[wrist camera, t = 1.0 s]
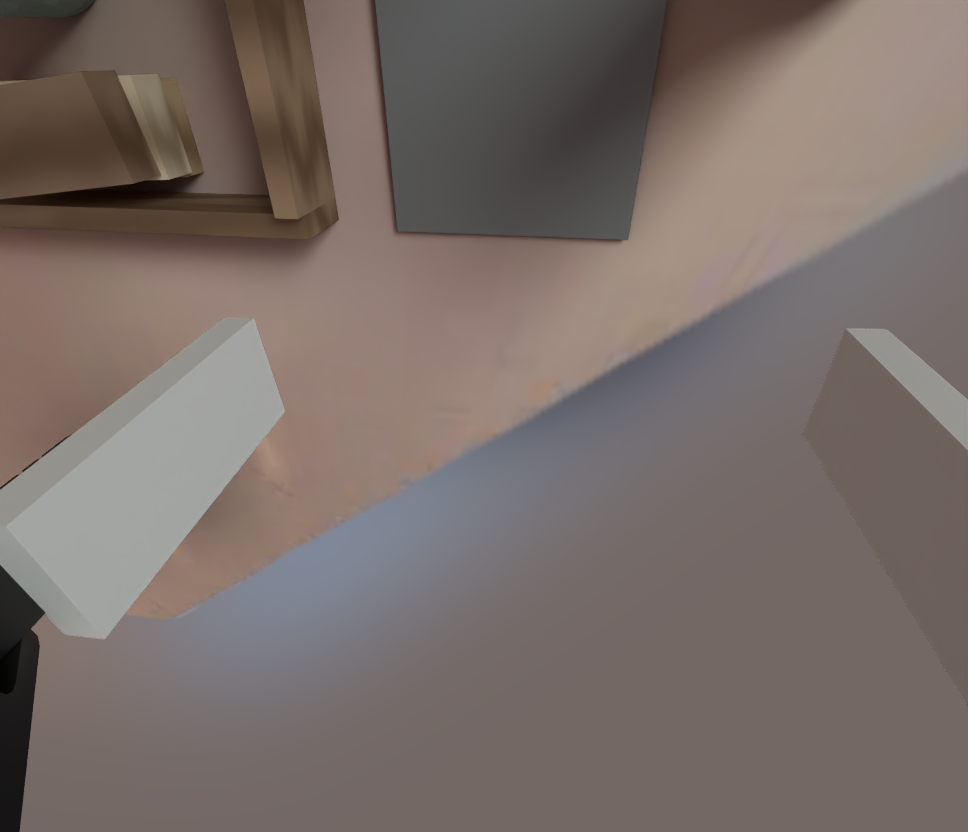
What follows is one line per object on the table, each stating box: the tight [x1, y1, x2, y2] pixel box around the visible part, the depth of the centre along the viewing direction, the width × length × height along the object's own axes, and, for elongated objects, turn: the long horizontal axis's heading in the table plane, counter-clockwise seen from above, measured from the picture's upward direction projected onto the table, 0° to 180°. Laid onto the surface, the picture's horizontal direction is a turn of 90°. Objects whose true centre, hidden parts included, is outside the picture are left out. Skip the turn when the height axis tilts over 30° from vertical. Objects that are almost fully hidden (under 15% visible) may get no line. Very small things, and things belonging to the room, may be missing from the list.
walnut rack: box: [0, 0, 339, 240], centre depth 28 cm, size 24×31×8 cm
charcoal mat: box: [375, 0, 667, 240], centre depth 30 cm, size 16×16×1 cm
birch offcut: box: [0, 74, 192, 180], centre depth 32 cm, size 6×12×2 cm, turn 92°
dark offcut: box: [0, 70, 161, 199], centre depth 30 cm, size 6×12×2 cm, turn 97°
